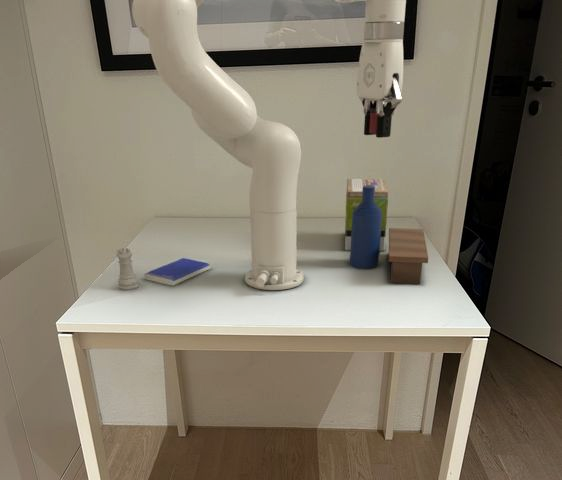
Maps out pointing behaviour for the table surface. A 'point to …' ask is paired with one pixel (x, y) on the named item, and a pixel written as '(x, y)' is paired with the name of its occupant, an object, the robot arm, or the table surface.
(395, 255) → the brown wooden box
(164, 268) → the blue book
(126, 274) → the rook chess piece
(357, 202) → the tea box
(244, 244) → the table surface
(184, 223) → the table surface
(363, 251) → the bottle
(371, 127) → the cap
